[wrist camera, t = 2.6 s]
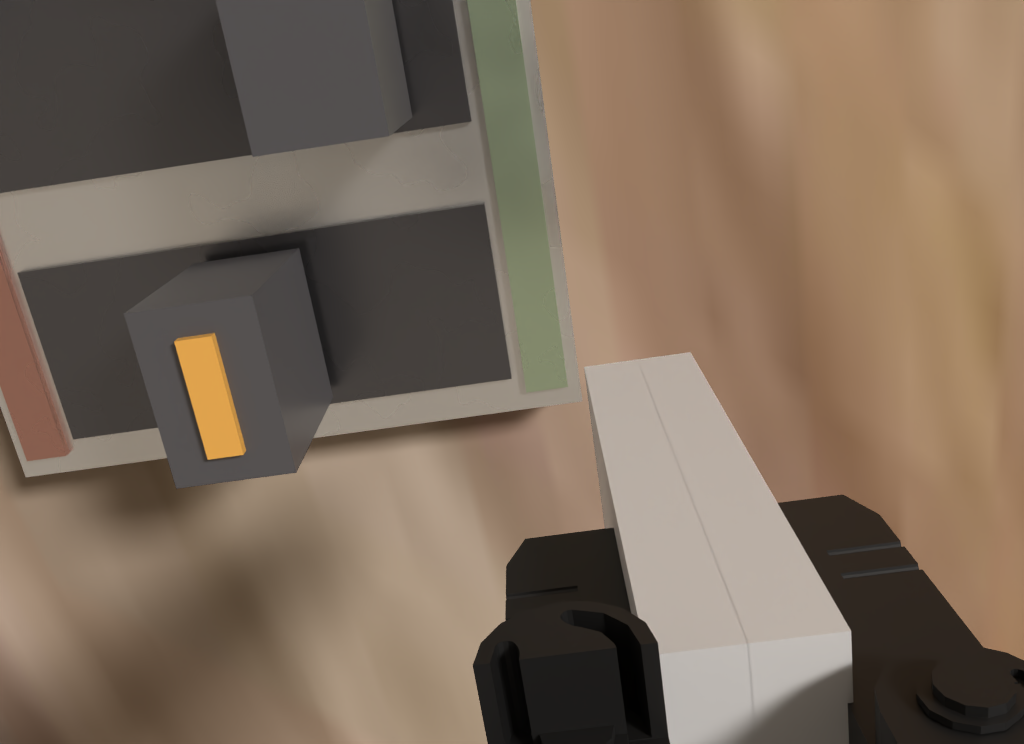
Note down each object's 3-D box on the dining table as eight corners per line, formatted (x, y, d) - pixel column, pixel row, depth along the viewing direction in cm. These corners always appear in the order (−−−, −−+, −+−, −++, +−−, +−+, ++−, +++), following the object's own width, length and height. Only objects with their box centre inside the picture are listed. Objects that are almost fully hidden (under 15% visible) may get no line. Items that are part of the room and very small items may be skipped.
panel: (-210, -352, 19) (-297, -399, 17) (465, -475, 18) (460, -540, 16) (62, 444, 25) (21, 480, 23) (576, 373, 24) (582, 404, 22)
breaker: (261, -50, 19) (199, -71, 15) (379, -69, 18) (346, -96, 15) (301, 134, 20) (252, 156, 16) (412, 117, 20) (389, 136, 16)
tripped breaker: (193, 263, 21) (119, 317, 17) (299, 247, 21) (249, 297, 17) (233, 411, 22) (172, 493, 18) (333, 397, 22) (293, 476, 18)
